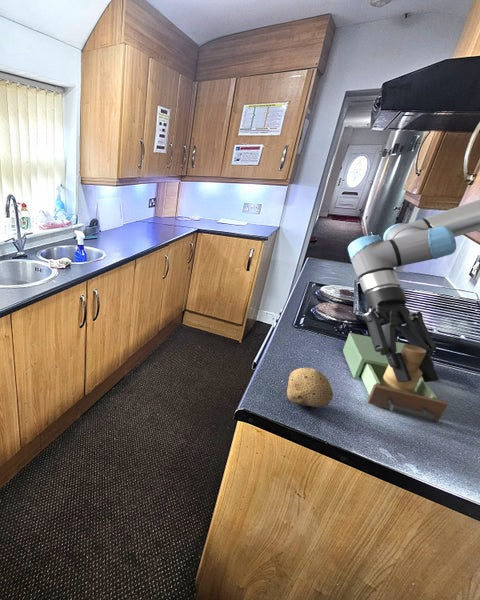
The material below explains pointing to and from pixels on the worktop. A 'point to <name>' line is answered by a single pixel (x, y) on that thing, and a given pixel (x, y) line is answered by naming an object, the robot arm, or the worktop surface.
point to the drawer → (402, 396)
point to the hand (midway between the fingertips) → (418, 381)
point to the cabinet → (363, 353)
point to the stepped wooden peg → (412, 360)
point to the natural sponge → (309, 388)
